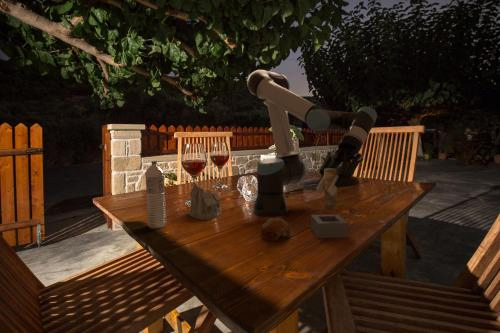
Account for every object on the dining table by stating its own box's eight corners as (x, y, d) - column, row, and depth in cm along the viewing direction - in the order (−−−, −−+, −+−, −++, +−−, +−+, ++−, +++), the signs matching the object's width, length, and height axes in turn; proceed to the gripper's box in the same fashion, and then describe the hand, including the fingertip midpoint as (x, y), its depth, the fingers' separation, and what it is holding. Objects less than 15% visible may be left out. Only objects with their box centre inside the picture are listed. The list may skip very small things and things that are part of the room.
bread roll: (288, 242, 100) (287, 220, 102) (293, 240, 90) (291, 215, 93) (260, 243, 100) (260, 220, 102) (262, 241, 90) (261, 216, 92)
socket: (317, 238, 94) (318, 223, 94) (310, 227, 104) (311, 214, 103) (347, 237, 94) (348, 223, 94) (337, 227, 104) (338, 214, 104)
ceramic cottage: (199, 221, 113) (200, 184, 112) (183, 213, 127) (184, 180, 126) (232, 216, 122) (233, 182, 121) (214, 209, 136) (215, 178, 135)
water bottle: (160, 222, 113) (157, 160, 110) (170, 225, 109) (167, 161, 105) (144, 226, 108) (140, 161, 105) (154, 230, 103) (150, 162, 100)
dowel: (326, 211, 96) (326, 170, 94) (323, 207, 100) (322, 168, 98) (338, 210, 96) (338, 169, 94) (334, 206, 100) (334, 168, 98)
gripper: (378, 149, 98) (351, 203, 90) (336, 147, 111) (309, 195, 103) (371, 134, 94) (342, 189, 86) (328, 134, 108) (299, 182, 99)
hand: (324, 192), depth 95 cm, fingers closed on dowel, 4 cm apart
